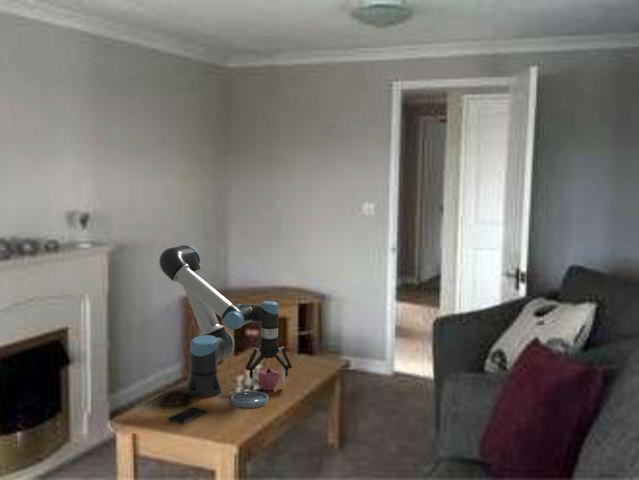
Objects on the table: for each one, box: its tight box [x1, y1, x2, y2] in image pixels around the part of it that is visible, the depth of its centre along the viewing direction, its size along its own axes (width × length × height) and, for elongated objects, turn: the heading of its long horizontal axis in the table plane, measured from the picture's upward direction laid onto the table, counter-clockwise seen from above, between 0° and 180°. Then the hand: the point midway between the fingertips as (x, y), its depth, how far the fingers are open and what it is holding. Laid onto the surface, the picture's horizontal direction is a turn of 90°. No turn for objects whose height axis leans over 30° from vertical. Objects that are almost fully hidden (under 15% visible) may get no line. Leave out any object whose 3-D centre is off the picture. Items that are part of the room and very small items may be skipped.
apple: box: [257, 368, 280, 391], centre depth 296 cm, size 10×9×10 cm
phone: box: [167, 406, 208, 425], centre depth 262 cm, size 8×1×15 cm
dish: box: [230, 390, 270, 409], centre depth 281 cm, size 15×15×2 cm
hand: (268, 384), depth 296 cm, fingers open, 13 cm apart
